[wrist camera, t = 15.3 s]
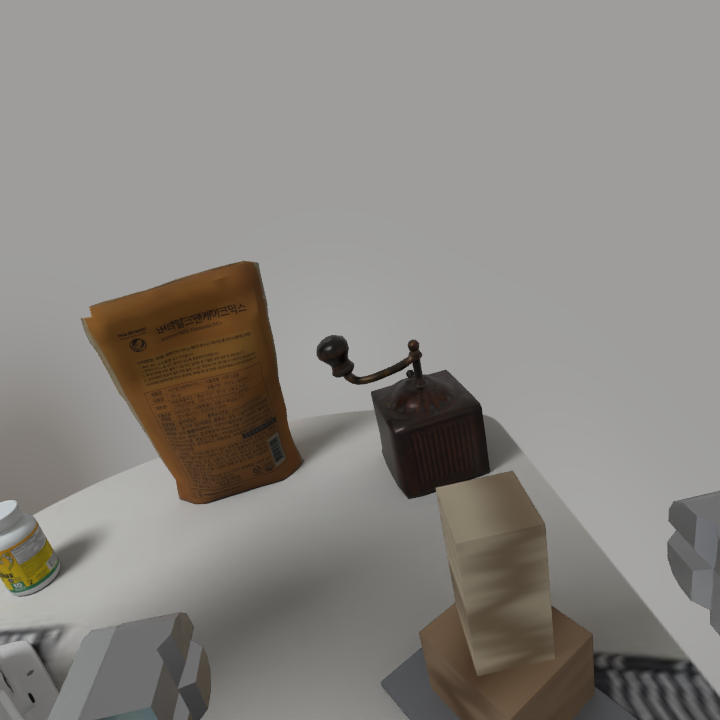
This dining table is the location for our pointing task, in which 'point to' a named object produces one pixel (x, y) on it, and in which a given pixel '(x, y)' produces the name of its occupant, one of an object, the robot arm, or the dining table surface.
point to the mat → (434, 716)
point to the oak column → (498, 571)
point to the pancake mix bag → (201, 379)
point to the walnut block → (510, 674)
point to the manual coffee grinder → (420, 422)
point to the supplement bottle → (24, 552)
